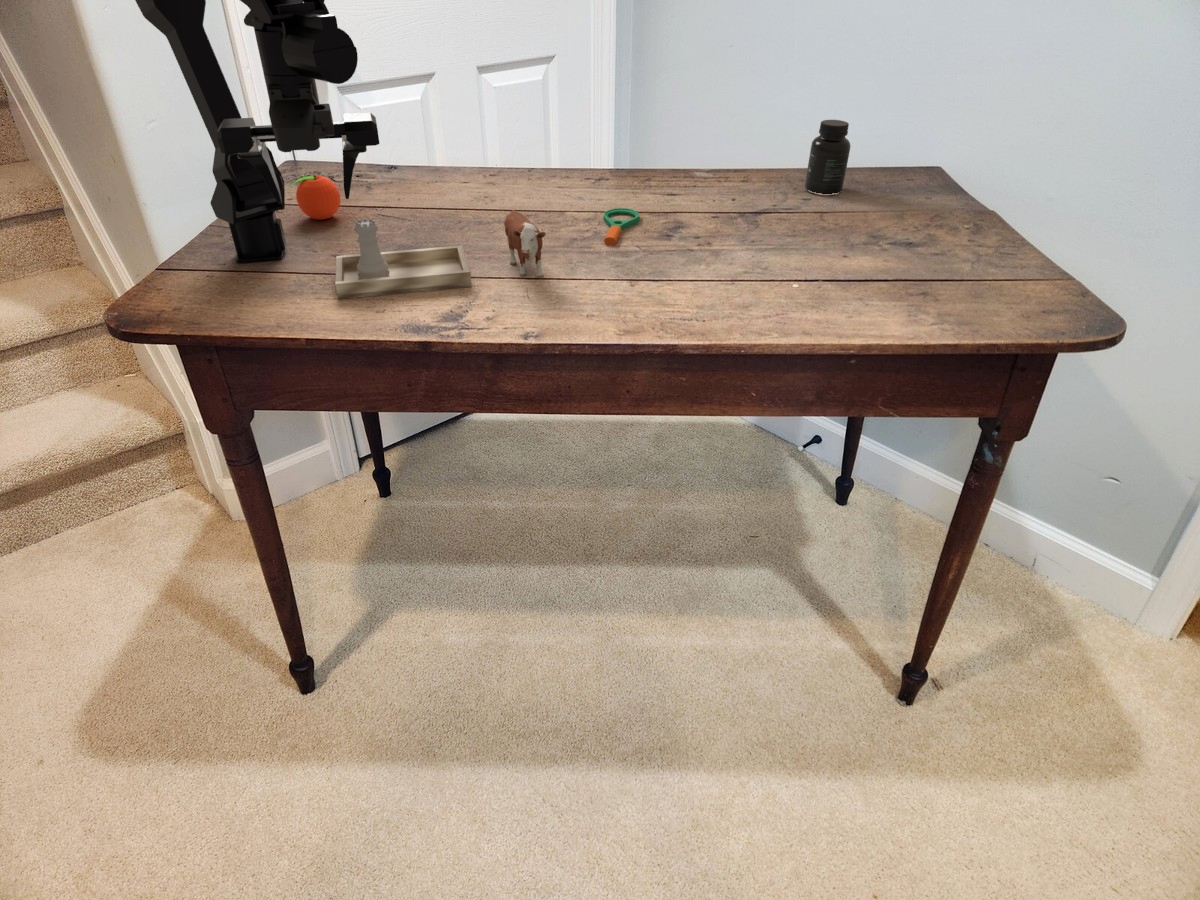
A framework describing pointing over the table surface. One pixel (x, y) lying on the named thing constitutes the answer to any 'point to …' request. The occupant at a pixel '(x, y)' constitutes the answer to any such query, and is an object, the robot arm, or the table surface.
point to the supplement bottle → (828, 158)
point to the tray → (405, 272)
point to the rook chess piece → (369, 251)
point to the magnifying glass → (618, 223)
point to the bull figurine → (524, 241)
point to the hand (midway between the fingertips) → (314, 200)
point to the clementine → (317, 197)
